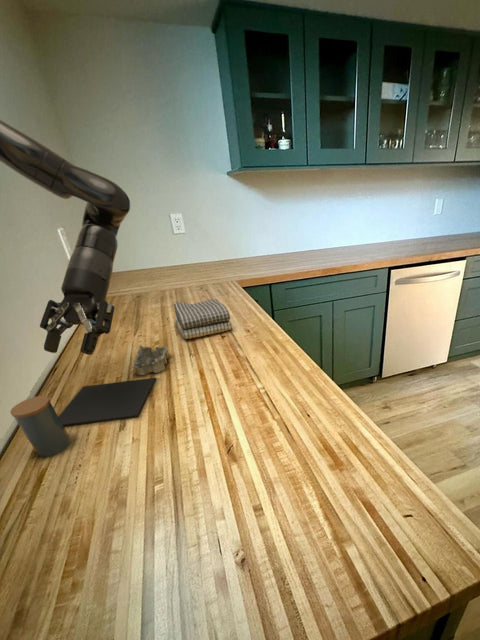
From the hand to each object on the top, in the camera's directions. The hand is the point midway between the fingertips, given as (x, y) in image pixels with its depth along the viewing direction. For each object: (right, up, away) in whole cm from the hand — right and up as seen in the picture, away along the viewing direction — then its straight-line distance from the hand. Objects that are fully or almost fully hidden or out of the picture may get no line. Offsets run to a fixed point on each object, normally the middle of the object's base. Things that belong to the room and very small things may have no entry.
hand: (67, 352), depth 64 cm
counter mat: (+2, -10, +10) cm, 15 cm away
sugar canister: (-1, -18, -2) cm, 18 cm away
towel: (+13, +11, +44) cm, 48 cm away
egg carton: (+6, -2, +24) cm, 25 cm away
